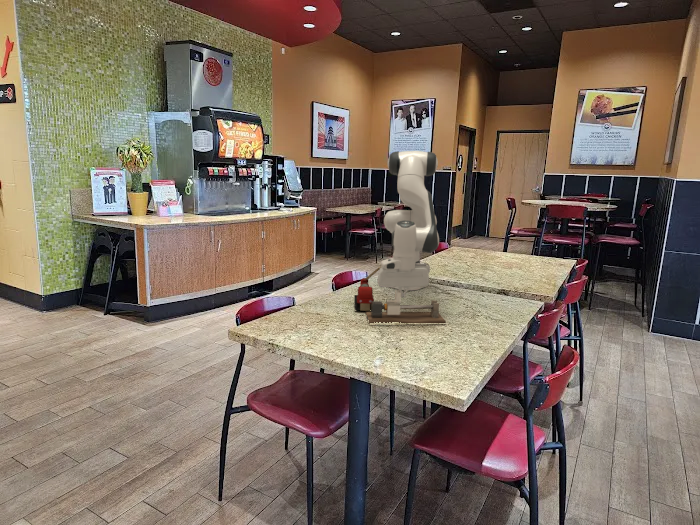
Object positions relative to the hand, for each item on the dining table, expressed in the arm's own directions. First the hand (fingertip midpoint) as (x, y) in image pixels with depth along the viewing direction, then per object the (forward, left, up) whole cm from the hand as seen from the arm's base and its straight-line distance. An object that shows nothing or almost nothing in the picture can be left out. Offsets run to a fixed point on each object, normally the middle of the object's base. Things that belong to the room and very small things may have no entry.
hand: (402, 297), depth 182 cm
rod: (0, +1, -8) cm, 8 cm away
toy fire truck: (-17, -12, -10) cm, 23 cm away
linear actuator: (0, +1, -10) cm, 10 cm away
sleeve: (0, -4, -7) cm, 8 cm away
